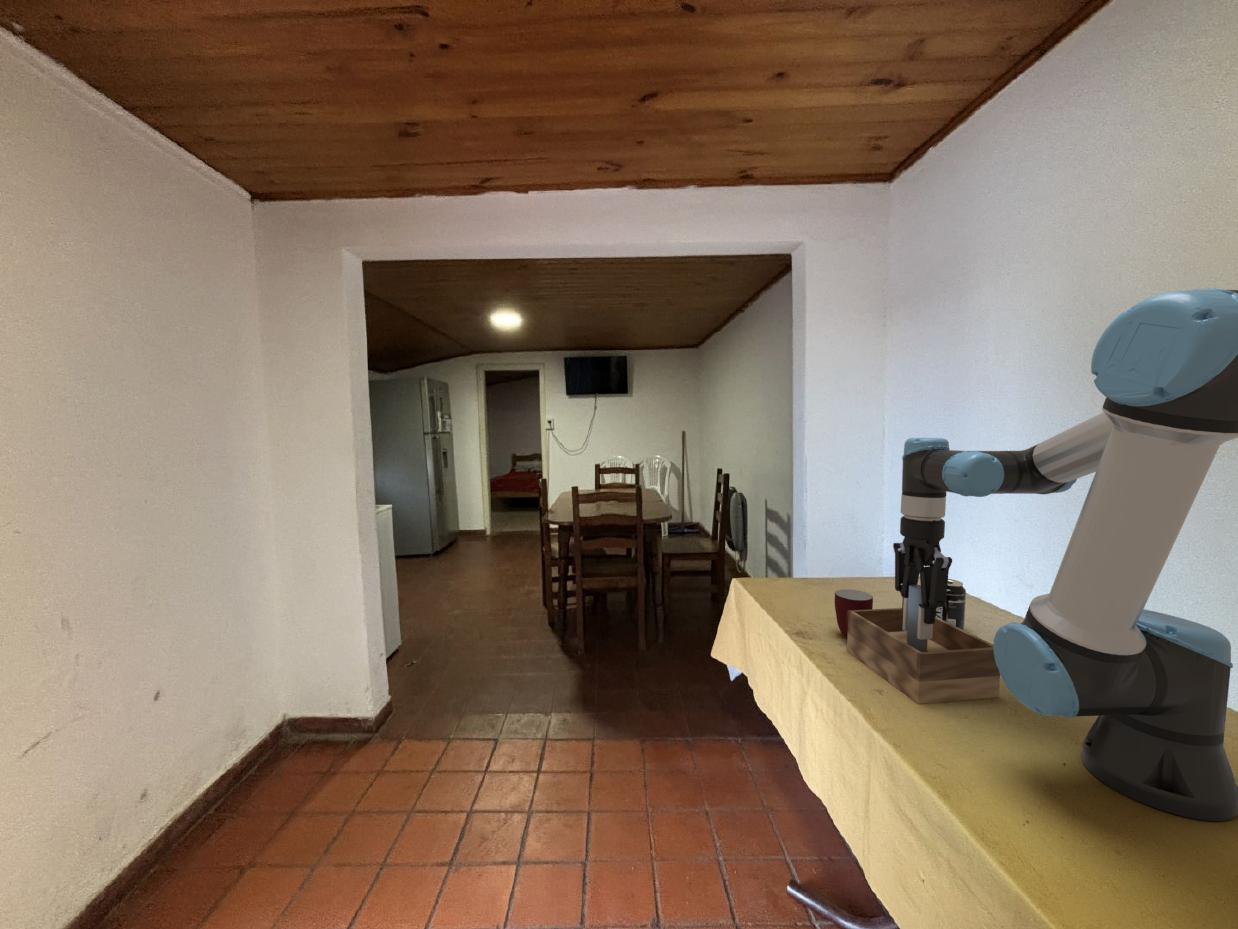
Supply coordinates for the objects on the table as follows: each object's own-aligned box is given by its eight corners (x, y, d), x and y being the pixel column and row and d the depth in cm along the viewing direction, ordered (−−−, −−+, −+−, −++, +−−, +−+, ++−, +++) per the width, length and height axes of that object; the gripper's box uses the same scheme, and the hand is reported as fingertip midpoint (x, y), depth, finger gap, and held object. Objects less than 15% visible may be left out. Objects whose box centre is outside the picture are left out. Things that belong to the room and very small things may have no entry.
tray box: (998, 697, 95) (1001, 648, 94) (918, 704, 93) (920, 654, 92) (913, 646, 117) (915, 607, 116) (846, 651, 114) (848, 610, 114)
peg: (914, 651, 102) (917, 590, 101) (902, 643, 106) (904, 585, 105) (931, 649, 103) (934, 589, 102) (918, 642, 106) (921, 584, 106)
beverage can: (928, 624, 130) (930, 576, 129) (961, 628, 127) (963, 579, 126) (931, 633, 124) (934, 583, 123) (966, 638, 121) (968, 587, 120)
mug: (872, 650, 115) (874, 606, 114) (832, 644, 118) (834, 600, 117) (870, 633, 124) (872, 591, 123) (833, 628, 127) (835, 587, 127)
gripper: (974, 524, 95) (967, 650, 97) (910, 509, 111) (905, 617, 113) (936, 525, 94) (930, 653, 95) (877, 510, 110) (873, 619, 112)
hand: (917, 633), depth 104 cm, fingers closed on peg, 3 cm apart
